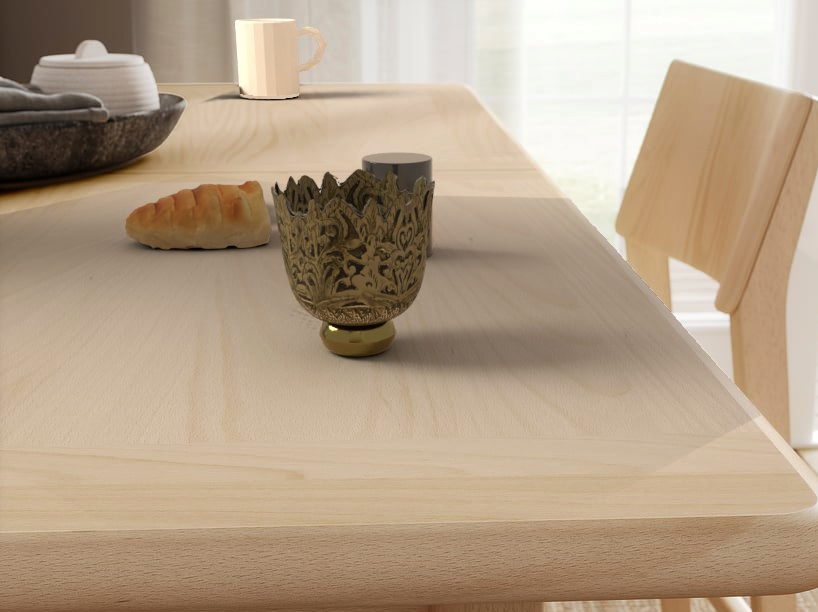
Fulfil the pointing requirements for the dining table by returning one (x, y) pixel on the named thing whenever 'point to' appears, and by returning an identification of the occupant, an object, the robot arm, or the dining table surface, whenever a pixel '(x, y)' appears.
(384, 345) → the cup
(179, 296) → the dining table surface
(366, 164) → the dark gray cylinder
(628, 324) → the dining table surface
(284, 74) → the mug
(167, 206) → the pastry
